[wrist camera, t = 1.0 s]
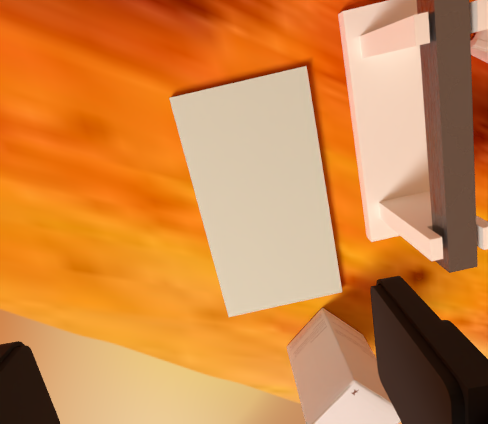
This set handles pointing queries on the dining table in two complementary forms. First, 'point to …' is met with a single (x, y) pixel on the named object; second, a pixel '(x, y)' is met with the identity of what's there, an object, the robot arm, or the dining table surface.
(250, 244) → the mat
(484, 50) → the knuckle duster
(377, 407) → the supplement box
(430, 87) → the rail
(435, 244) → the hook rack
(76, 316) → the dining table surface
